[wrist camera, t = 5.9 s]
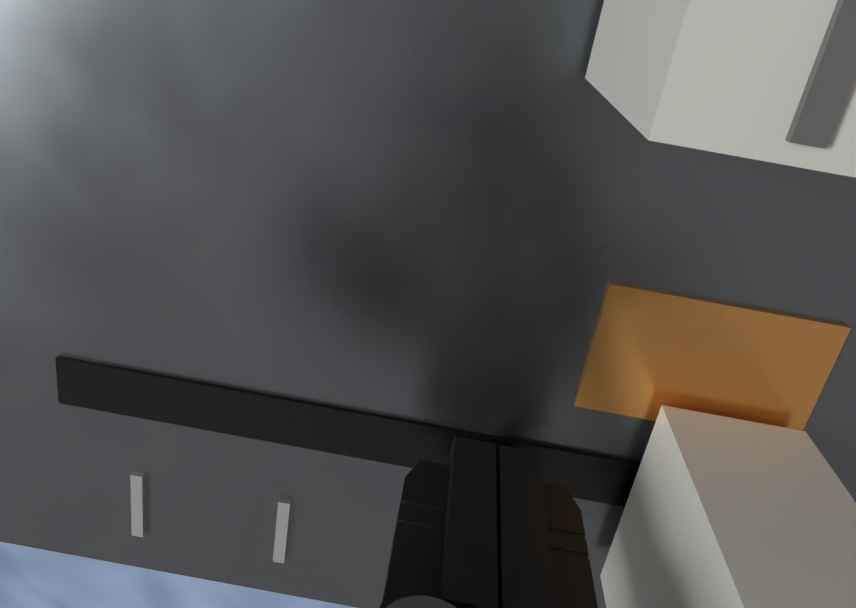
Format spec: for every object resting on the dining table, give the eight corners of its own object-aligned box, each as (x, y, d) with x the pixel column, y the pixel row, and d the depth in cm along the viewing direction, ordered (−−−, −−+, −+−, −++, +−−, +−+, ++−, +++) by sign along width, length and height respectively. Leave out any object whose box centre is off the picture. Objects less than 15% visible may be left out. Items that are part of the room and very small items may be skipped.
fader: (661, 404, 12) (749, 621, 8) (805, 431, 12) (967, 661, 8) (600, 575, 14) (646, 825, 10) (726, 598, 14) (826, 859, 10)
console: (-100, -581, 9) (-252, -726, 8) (1371, -323, 9) (1601, -404, 7) (16, 475, 17) (-45, 537, 15) (830, 624, 17) (873, 707, 15)
